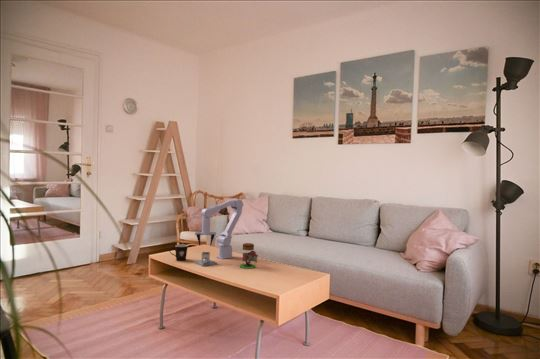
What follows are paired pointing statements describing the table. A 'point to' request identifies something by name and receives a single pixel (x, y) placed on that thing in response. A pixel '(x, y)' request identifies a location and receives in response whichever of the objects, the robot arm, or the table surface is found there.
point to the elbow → (205, 257)
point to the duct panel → (205, 264)
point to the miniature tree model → (249, 256)
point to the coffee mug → (180, 252)
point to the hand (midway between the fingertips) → (205, 245)
